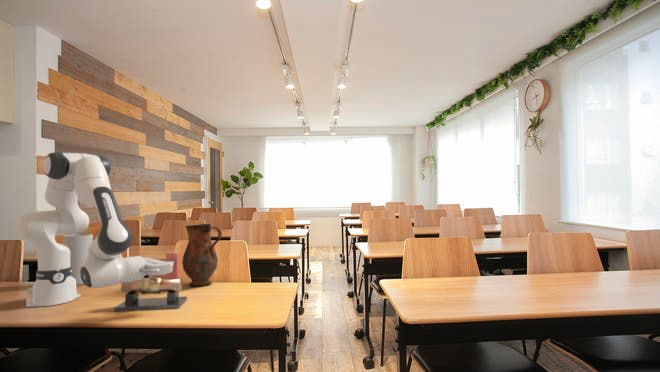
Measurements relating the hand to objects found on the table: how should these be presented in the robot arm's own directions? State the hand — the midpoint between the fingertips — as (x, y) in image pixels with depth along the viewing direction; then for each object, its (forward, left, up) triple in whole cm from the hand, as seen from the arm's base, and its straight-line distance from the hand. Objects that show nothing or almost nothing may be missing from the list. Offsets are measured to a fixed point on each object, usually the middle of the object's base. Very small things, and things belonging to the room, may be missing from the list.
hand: (172, 262), depth 140 cm
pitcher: (-25, +29, -19) cm, 43 cm away
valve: (-12, -2, -18) cm, 22 cm away
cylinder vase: (-81, -8, -19) cm, 84 cm away
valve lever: (-6, 0, -7) cm, 9 cm away
